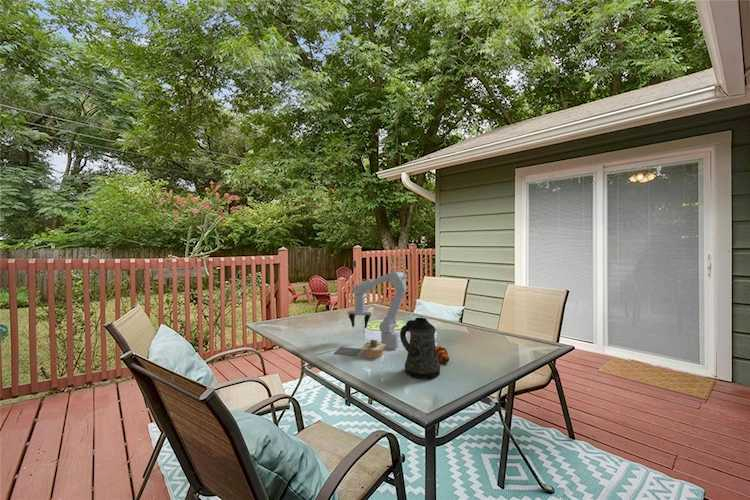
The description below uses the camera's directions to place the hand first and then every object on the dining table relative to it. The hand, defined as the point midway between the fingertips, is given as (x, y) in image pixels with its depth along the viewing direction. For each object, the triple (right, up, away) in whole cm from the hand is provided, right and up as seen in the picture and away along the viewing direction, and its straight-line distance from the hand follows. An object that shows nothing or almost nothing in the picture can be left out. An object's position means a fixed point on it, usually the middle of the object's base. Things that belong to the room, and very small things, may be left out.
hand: (359, 327), depth 203 cm
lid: (+9, -6, -22) cm, 25 cm away
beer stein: (+30, -11, -45) cm, 55 cm away
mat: (-5, -10, -17) cm, 20 cm away
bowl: (+9, -10, -23) cm, 26 cm away
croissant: (+42, -11, -24) cm, 50 cm away
